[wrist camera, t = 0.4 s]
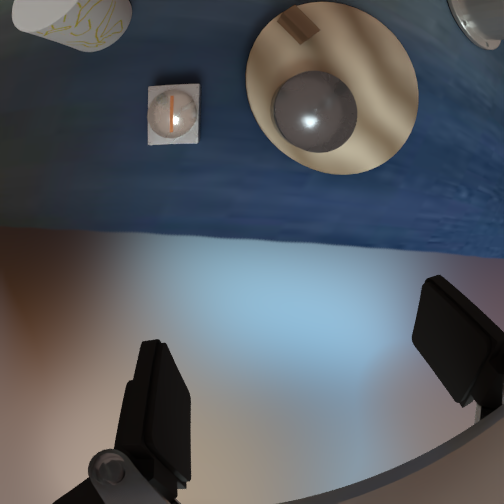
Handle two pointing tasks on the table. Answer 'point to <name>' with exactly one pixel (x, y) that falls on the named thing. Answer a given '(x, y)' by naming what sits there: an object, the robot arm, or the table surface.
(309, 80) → the disc
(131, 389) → the robot arm
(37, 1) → the cup
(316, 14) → the turntable
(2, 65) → the table surface
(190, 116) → the dial gauge
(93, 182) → the table surface
